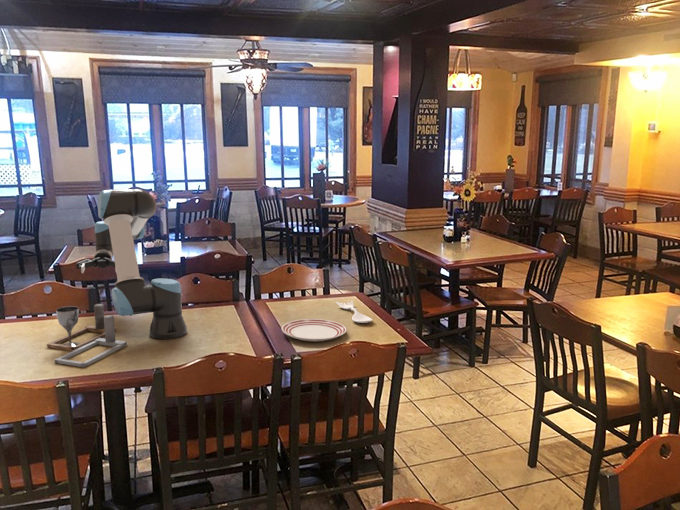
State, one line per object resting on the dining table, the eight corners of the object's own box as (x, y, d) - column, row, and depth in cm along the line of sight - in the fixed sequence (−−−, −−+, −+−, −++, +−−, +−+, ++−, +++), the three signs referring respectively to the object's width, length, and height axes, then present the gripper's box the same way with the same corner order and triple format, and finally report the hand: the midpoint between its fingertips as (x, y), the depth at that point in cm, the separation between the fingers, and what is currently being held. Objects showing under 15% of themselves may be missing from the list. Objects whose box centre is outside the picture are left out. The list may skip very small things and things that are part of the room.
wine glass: (67, 350, 225) (63, 313, 222) (55, 346, 229) (51, 309, 226) (85, 344, 231) (82, 308, 228) (73, 340, 236) (70, 304, 233)
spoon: (352, 305, 291) (352, 299, 291) (375, 325, 262) (375, 318, 261) (335, 307, 289) (335, 300, 288) (356, 327, 259) (357, 319, 258)
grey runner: (127, 344, 231) (125, 317, 229) (84, 367, 208) (81, 336, 206) (100, 341, 235) (98, 313, 233) (54, 362, 212) (51, 332, 210)
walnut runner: (116, 331, 246) (114, 305, 244) (74, 351, 224) (72, 322, 221) (90, 328, 250) (88, 302, 248) (47, 347, 227) (44, 318, 225)
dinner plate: (316, 320, 267) (316, 313, 266) (359, 335, 248) (359, 328, 247) (268, 334, 248) (268, 326, 247) (311, 351, 229) (311, 343, 228)
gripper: (131, 265, 275) (130, 277, 256) (74, 267, 268) (68, 278, 248) (131, 250, 274) (129, 260, 254) (73, 251, 266) (67, 261, 246)
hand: (99, 269), depth 251 cm, fingers open, 13 cm apart
